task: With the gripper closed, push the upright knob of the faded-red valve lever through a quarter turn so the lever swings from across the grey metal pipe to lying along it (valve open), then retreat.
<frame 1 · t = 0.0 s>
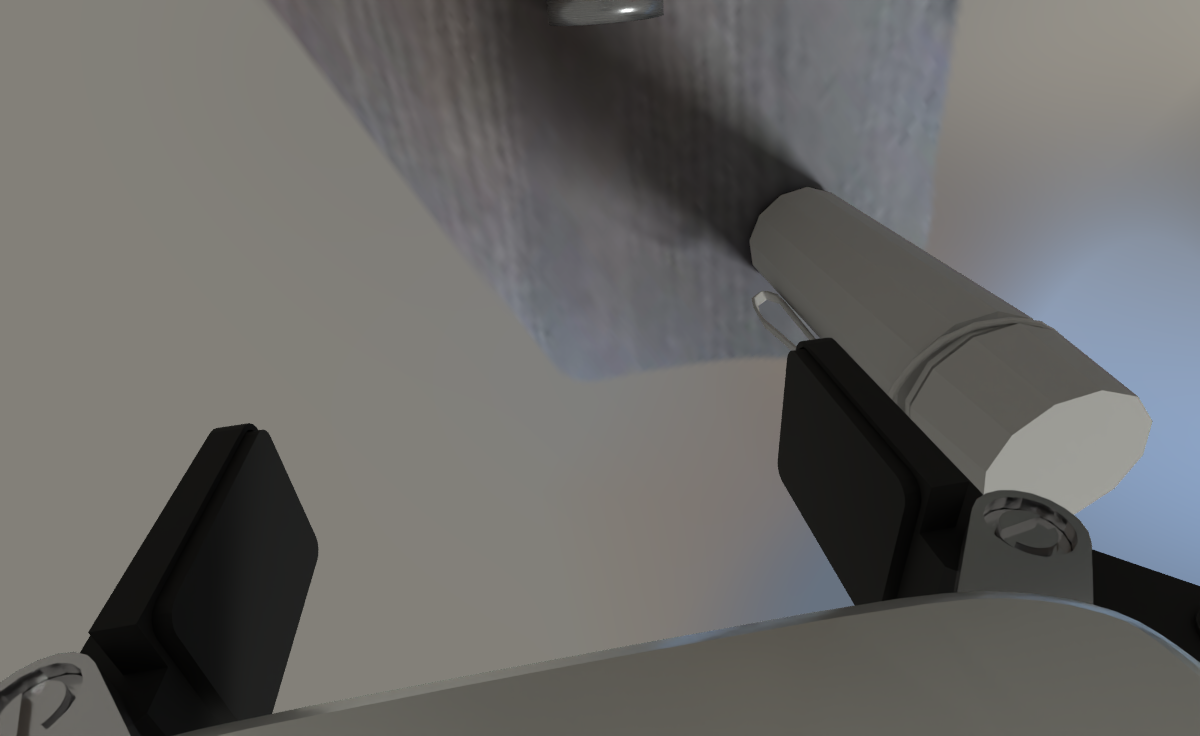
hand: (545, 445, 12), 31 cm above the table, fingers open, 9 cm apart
water bottle: (781, 240, 45), on the table
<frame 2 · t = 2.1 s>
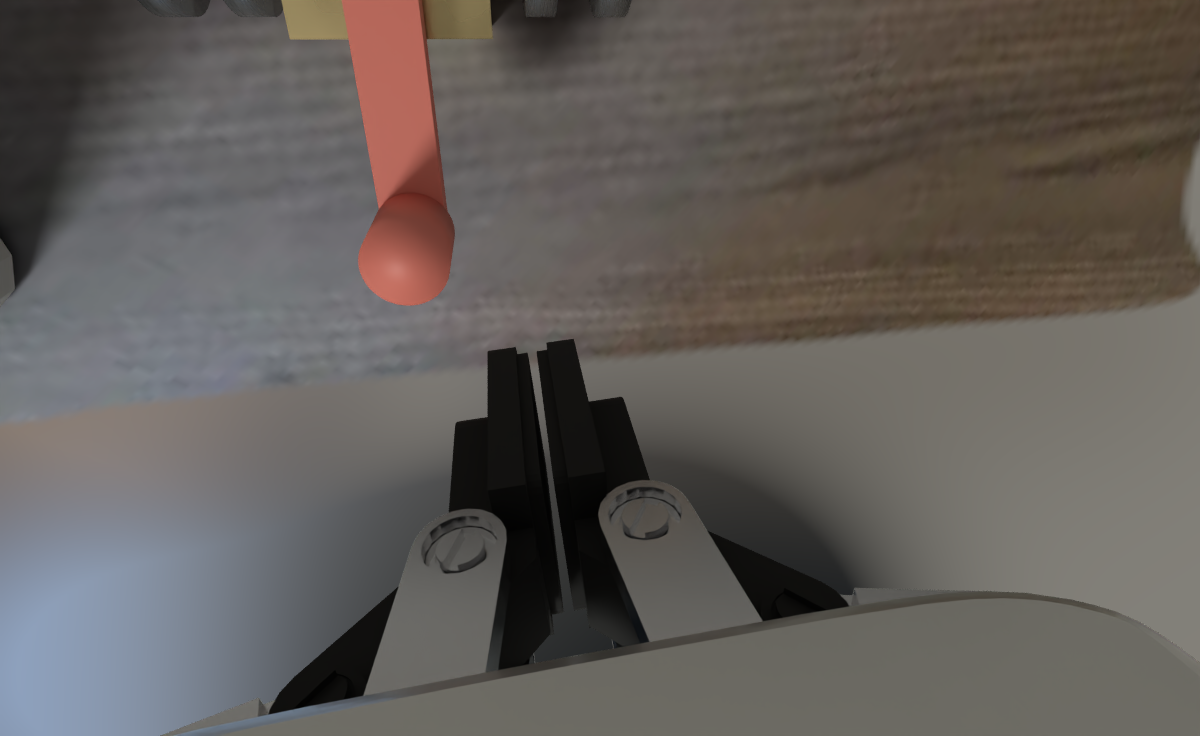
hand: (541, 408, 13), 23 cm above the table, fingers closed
lever: (389, 91, 21), point 10 cm above the table, hinge at 90.0°
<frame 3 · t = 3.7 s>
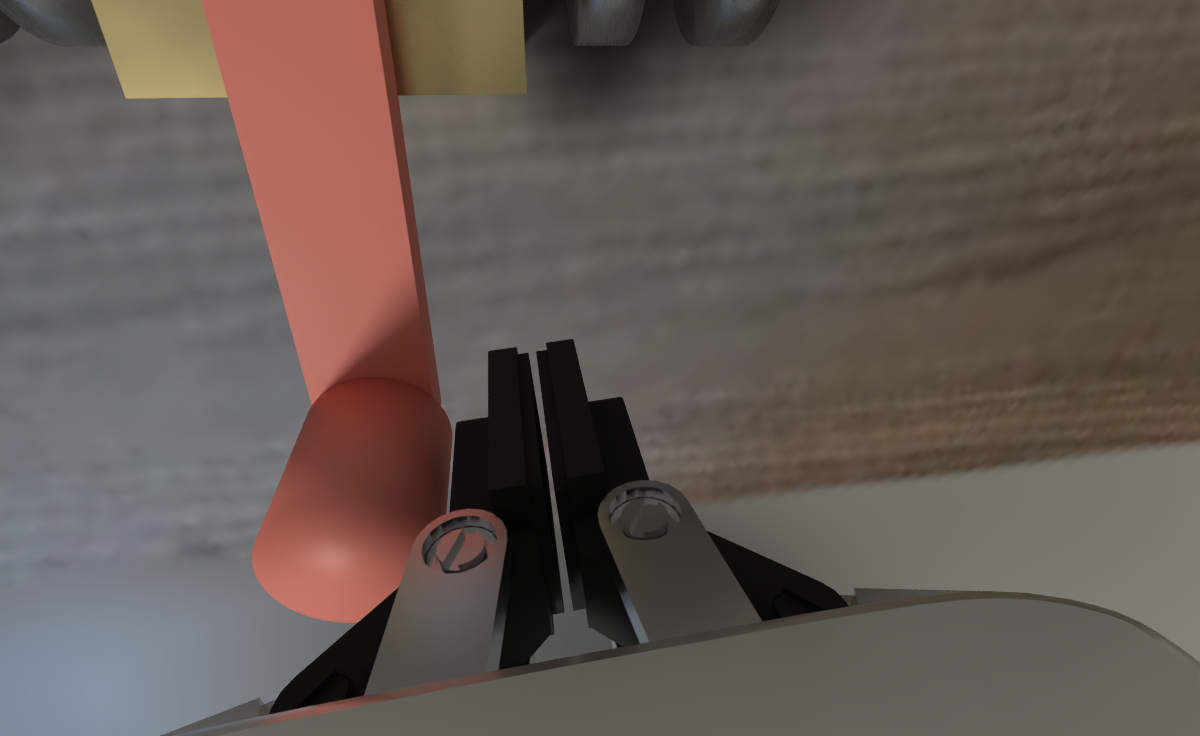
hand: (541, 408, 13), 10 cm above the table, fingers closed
lever: (316, 215, 10), point 10 cm above the table, hinge at 89.8°, touching gripper
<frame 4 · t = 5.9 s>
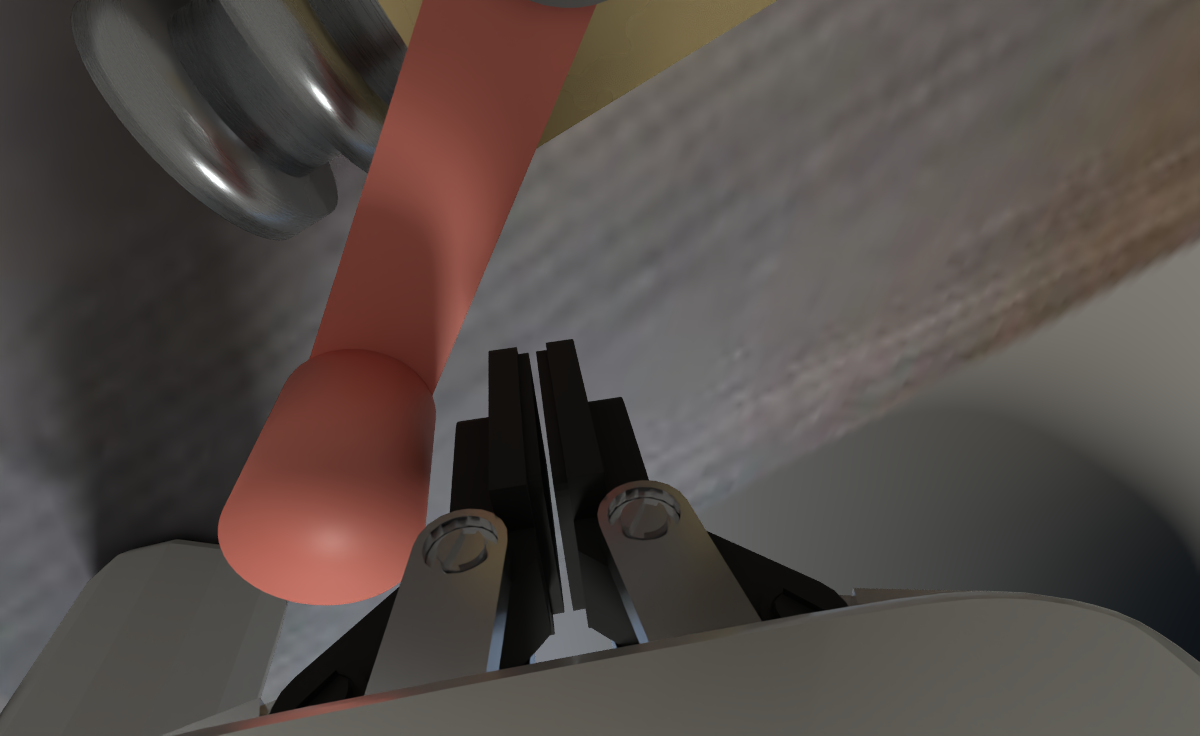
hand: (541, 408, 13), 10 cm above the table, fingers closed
water bottle: (174, 582, 25), on the table
lever: (443, 194, 10), point 10 cm above the table, hinge at 35.1°, touching gripper
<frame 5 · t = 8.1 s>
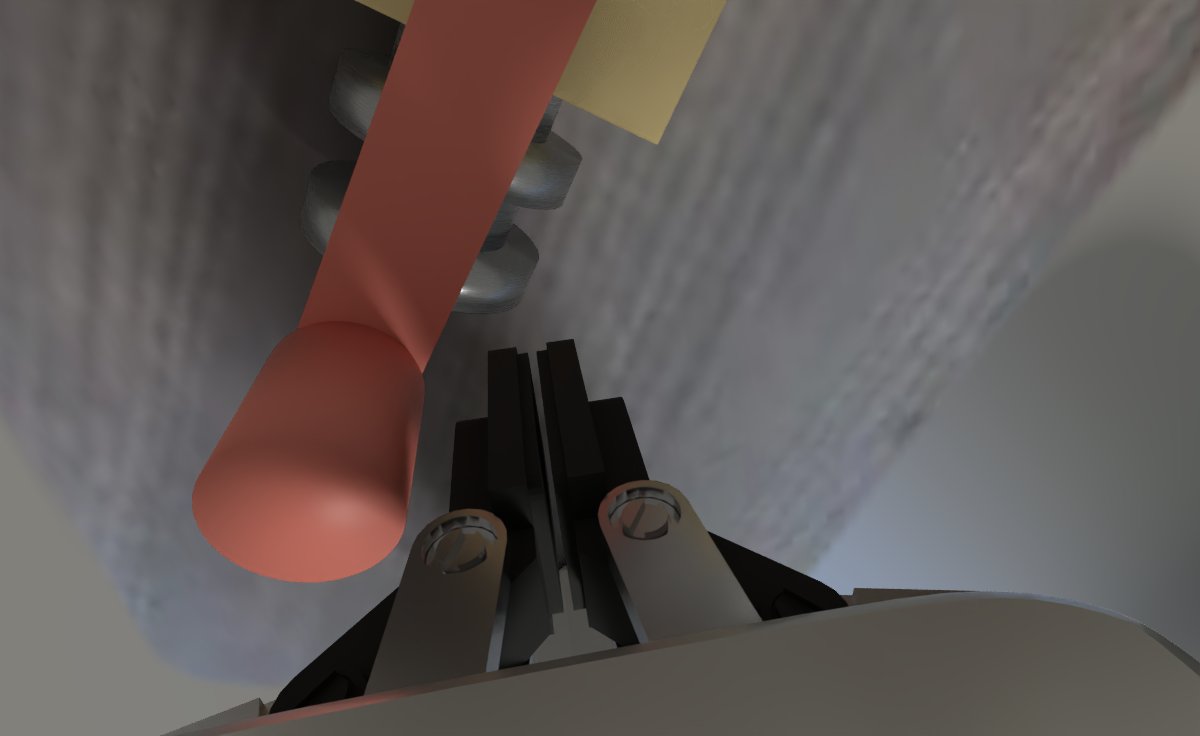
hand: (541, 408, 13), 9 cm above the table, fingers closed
water bottle: (579, 597, 30), on the table
lever: (442, 163, 10), point 10 cm above the table, hinge at -3.6°
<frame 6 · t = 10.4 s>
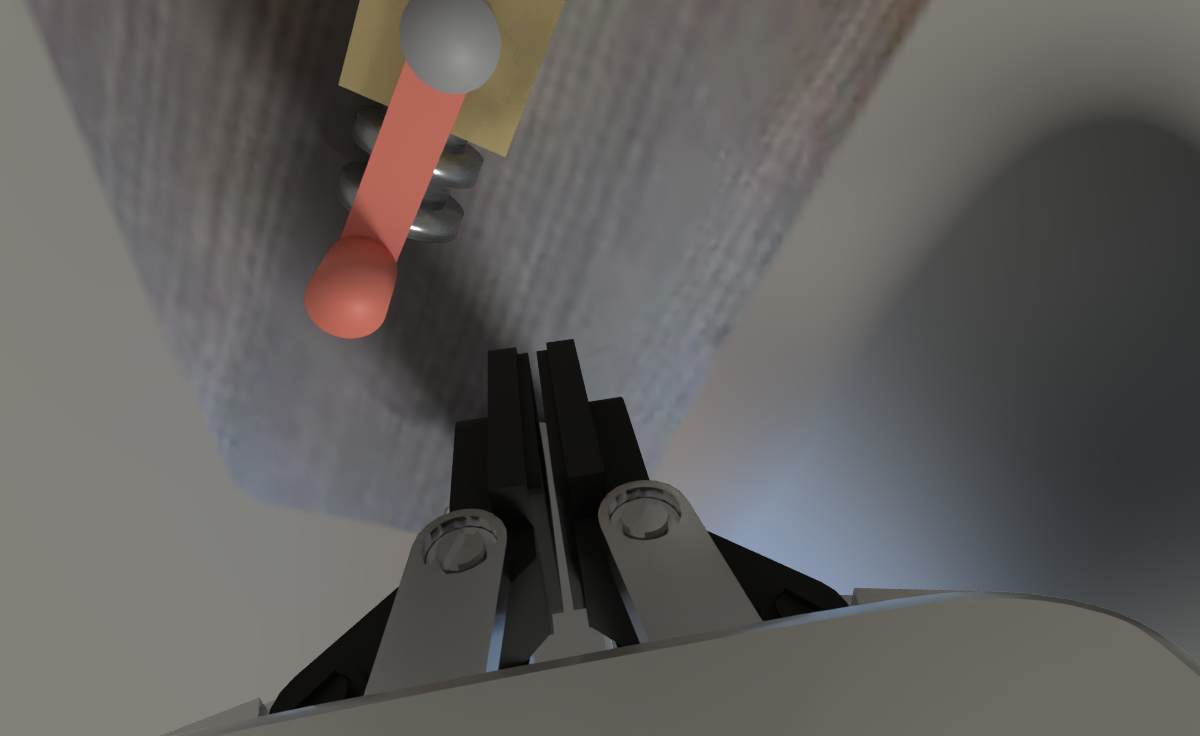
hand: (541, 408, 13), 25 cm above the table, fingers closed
valve: (459, 25, 31), on the table
water bottle: (511, 453, 45), on the table
lever: (401, 166, 24), point 10 cm above the table, hinge at -3.6°
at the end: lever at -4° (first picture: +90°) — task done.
